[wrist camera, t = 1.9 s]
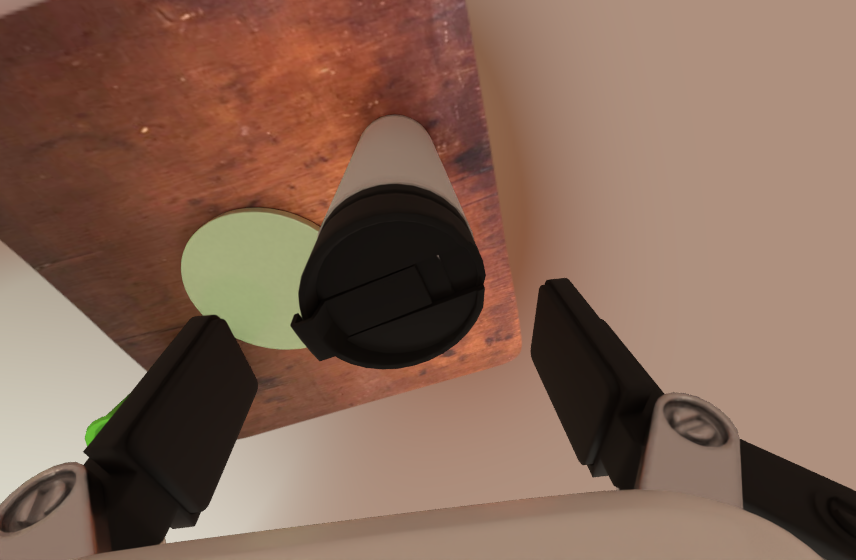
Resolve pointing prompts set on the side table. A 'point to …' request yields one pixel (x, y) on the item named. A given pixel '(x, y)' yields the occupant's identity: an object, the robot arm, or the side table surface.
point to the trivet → (250, 272)
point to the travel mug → (391, 257)
